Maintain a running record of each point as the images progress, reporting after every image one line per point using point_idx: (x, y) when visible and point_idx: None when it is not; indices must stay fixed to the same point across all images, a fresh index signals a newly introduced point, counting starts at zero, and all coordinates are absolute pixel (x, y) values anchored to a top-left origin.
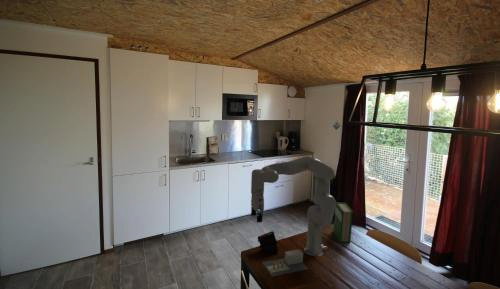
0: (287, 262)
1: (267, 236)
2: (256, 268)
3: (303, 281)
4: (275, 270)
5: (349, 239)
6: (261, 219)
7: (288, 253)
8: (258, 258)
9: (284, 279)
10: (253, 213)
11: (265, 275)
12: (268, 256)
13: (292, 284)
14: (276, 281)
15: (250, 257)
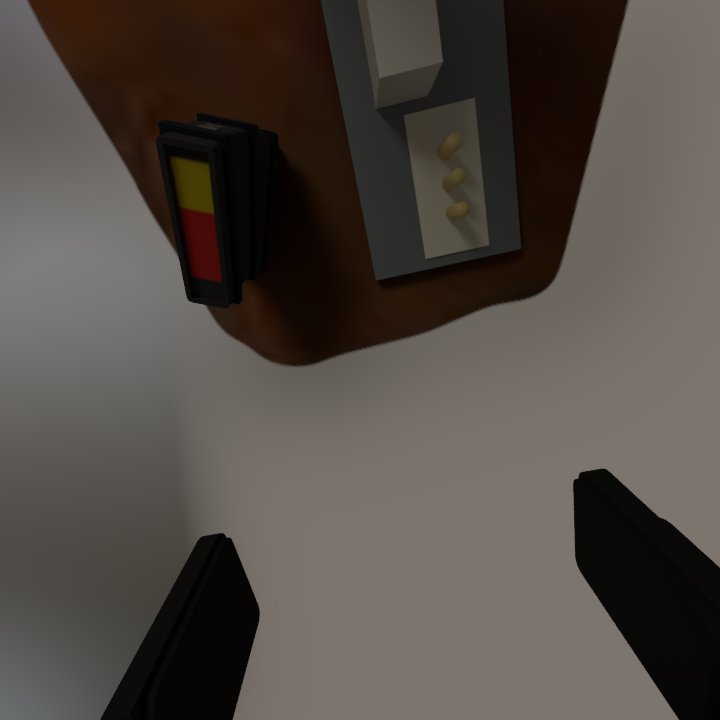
0: (419, 93)
1: (224, 217)
2: (412, 317)
3: (591, 31)
4: (474, 209)
5: None
6: (691, 543)
7: (407, 50)
8: (314, 289)
9: (541, 167)
10: (232, 632)
11: (482, 277)
12: (293, 218)
13: (596, 126)
14: (546, 223)
15: (302, 336)
